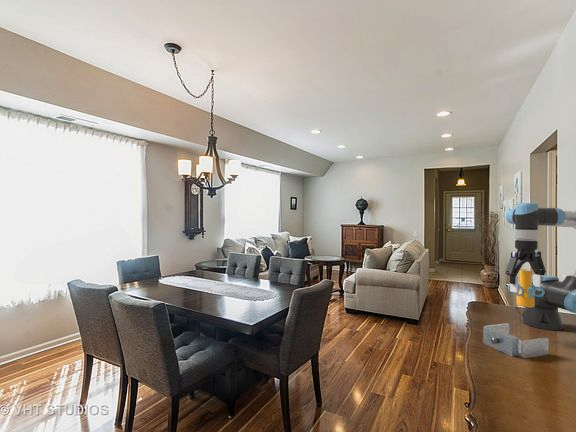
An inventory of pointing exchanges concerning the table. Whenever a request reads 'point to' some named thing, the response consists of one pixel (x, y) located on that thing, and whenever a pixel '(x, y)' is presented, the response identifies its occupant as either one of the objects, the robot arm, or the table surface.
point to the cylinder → (526, 289)
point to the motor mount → (513, 342)
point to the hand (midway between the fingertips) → (525, 291)
